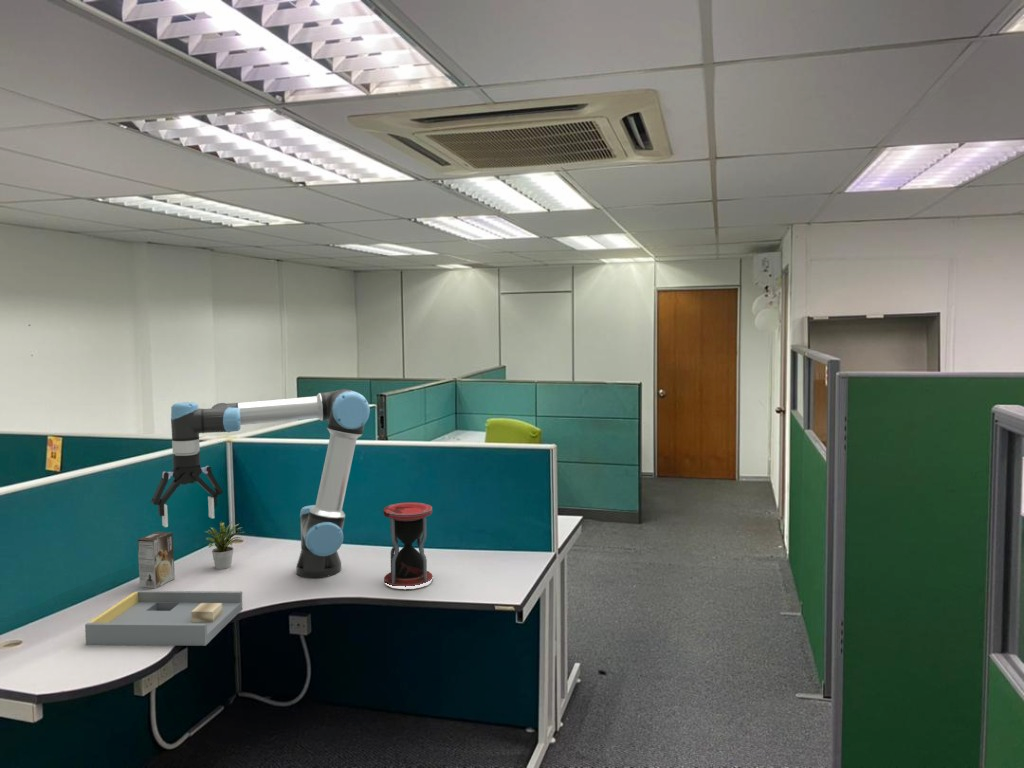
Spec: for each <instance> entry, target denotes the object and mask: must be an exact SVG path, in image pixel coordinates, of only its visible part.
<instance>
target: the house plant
mask: <svg viewBox="0 0 1024 768" xmlns="http://www.w3.org/2000/svg"><path fill="white" fill-rule="evenodd" d="M232 523H233V521H231V522H230V523H229V524H228V525H227V526H225V522H222V521H220V522H219V531H218V530H217V529H216V527H215V528H214V527H211V526H210V527H209V528H210V529H208V530H207V531H206V530H205V533H208V534H209V535H210V536H211V537H206V540H208V541H211V542H209V543H208V545H207V546H208V548H211V547H214V548H213V549H212V550H211V552H212V553H211V554H212V557H213V562H214V566H215V569H217V570H225V569H229V568H231V567H232V561H233V555H234V547H233V543H234V542H237V541H241V542H242V540H241V539H242V537H241V536H240V537H239V536H236V535H240V534H242V533H244V531H240V530H239V529H240V527H238V526H239V523H238V524H235V525H234V526H233V527H231V529H230V530H229V528H230V526H231V524H232ZM236 527H238V528H236ZM242 528H243V527H241V529H242ZM228 530H229V532H228ZM237 531H239V532H237ZM234 536H235V537H234ZM212 542H213V543H212ZM215 547H216V548H215Z"/></svg>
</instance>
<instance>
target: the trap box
mask: <svg viewBox="0 0 1024 768" xmlns="http://www.w3.org/2000/svg"><path fill="white" fill-rule="evenodd" d="M201 603H222V614H221V615H220V616H219V617H218V618H217V619H216V620H215V621H214V622H192V620H191V611H192V610H194V609H195V608H196V607H197V606H198V605H200V604H201ZM242 610H243V591H237V590H236V591H231V590H230V591H228V590H227V591H224V590H223V591H222V590H221V591H219V590H214V591H213V590H201V591H200V590H135V591H133V592H132V593H130V594H128V595H127V596H126V597H124V598H122V599H121V600H119V601H118V602H117V603H115V604H114V605H112V606H110V608H108V609H106V610H105V611H103V612H102V613H100V614H99V615H97V616H96V617H94V618H93V619H91V620H89V621H88V622H86V623H85V624H84V628H85V629H84V630H85V631H84V632H85V645H87V646H89V645H91V646H92V645H94V646H95V645H98V646H99V645H100V646H101V645H102V646H106V645H107V646H111V645H112V646H190V647H191V646H194V647H195V646H196V647H197V646H198V647H199V646H203V647H204V646H205V647H206V646H207V645H208V644H209V643H210V642H211V641H212V640H213V639H214V638H215V637H216V636H217V635H218V634H219V633H220V632H221V631H222V630H223V629H224V628H226V626H227V625H228V624H229V623H230V622H231V621H232V620H233V619H234V618H235V617H236V616H238V614H239V613H240V612H241V611H242Z"/></svg>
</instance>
